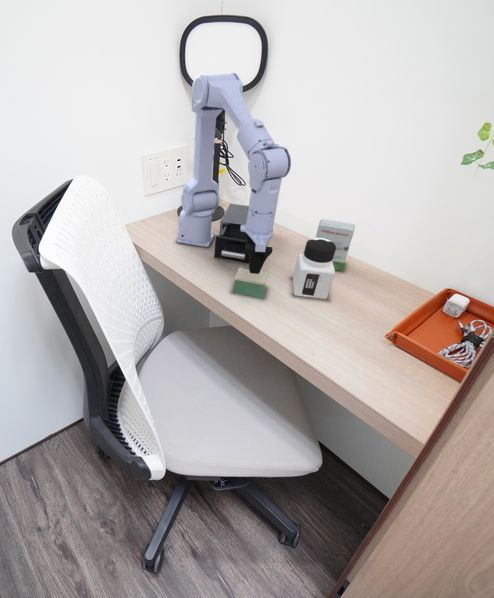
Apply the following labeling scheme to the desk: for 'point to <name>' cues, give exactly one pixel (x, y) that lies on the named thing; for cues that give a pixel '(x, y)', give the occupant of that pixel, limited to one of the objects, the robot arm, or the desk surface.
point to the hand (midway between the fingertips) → (253, 263)
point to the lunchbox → (250, 283)
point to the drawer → (231, 244)
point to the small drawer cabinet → (234, 216)
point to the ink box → (337, 239)
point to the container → (315, 269)
